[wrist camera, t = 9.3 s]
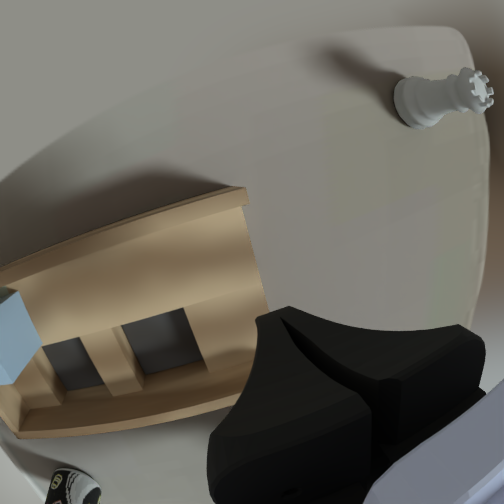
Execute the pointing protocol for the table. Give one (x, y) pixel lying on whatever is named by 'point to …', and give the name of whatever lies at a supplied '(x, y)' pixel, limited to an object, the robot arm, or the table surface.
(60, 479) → the beverage can
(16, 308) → the blue block
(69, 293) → the board
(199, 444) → the table surface
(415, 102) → the rook chess piece
